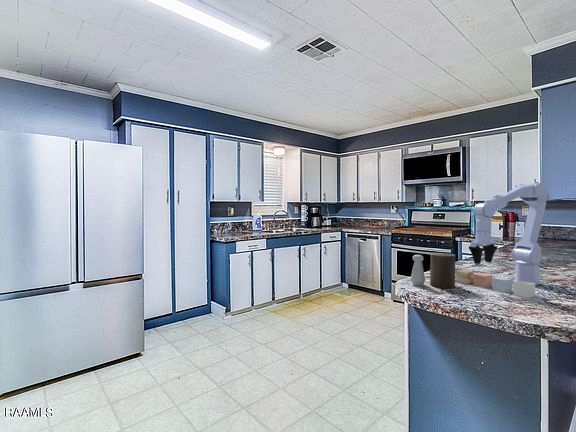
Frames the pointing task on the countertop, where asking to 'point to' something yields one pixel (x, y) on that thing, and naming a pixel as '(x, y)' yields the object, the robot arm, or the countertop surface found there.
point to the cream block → (524, 289)
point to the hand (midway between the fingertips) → (482, 262)
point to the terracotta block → (482, 280)
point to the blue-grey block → (502, 284)
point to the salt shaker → (418, 271)
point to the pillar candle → (442, 270)
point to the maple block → (464, 276)
